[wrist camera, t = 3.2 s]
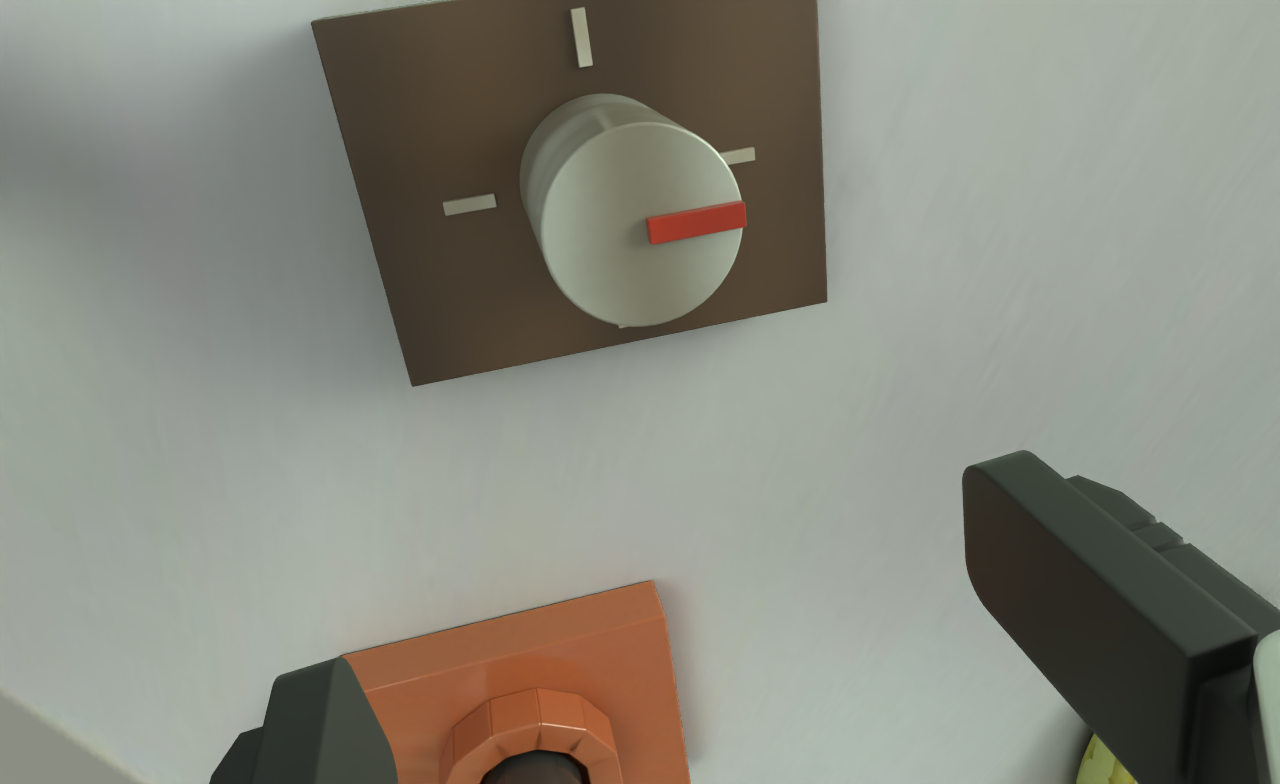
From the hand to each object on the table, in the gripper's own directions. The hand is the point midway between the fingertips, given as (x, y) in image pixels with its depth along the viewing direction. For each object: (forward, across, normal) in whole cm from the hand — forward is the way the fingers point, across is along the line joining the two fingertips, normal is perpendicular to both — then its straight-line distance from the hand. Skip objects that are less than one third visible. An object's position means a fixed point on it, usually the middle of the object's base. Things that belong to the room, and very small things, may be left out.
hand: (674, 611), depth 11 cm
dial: (+15, -2, -2) cm, 16 cm away
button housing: (+18, +6, +19) cm, 26 cm away
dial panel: (+18, -2, -2) cm, 18 cm away
